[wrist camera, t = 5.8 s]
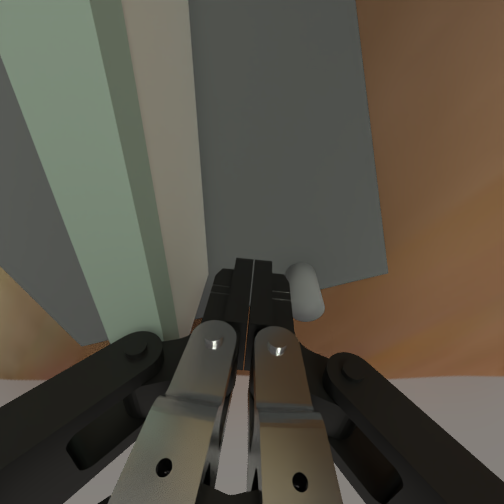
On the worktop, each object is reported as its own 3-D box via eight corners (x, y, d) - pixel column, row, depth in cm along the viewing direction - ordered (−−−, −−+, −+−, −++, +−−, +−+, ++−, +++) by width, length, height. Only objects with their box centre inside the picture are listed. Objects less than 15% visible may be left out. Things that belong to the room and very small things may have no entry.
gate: (126, -106, 8) (-277, -675, 2) (183, -105, 8) (-61, -687, 2) (180, 272, 16) (126, 386, 10) (210, 273, 16) (174, 389, 10)
